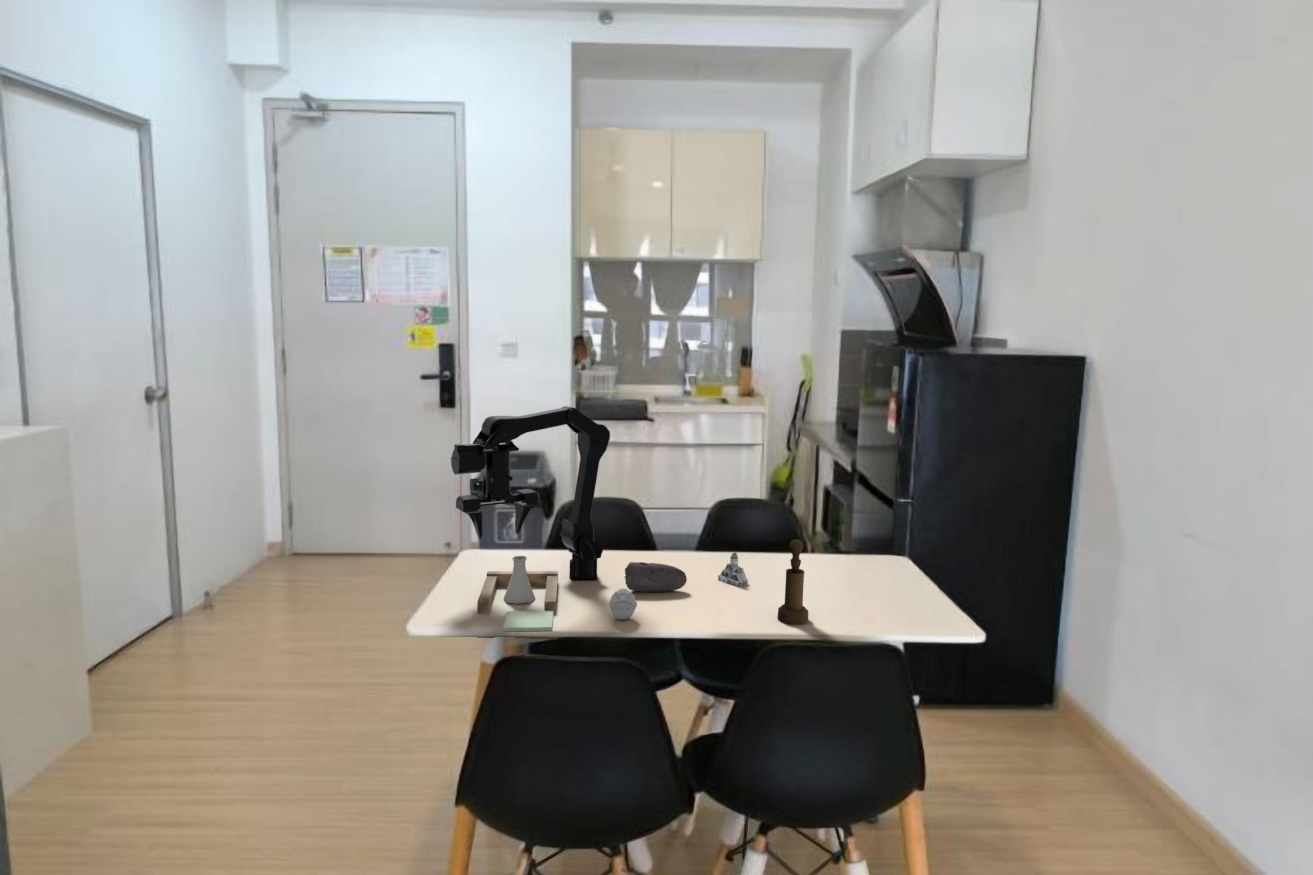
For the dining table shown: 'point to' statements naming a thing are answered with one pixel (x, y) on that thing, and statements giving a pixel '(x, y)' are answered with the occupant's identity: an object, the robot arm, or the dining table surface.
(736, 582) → the grey temple model
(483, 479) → the robot arm
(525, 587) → the flask
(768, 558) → the dining table surface
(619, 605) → the frog figurine
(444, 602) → the dining table surface
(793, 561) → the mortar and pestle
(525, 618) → the pad
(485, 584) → the frame
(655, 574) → the perforated stone tool
